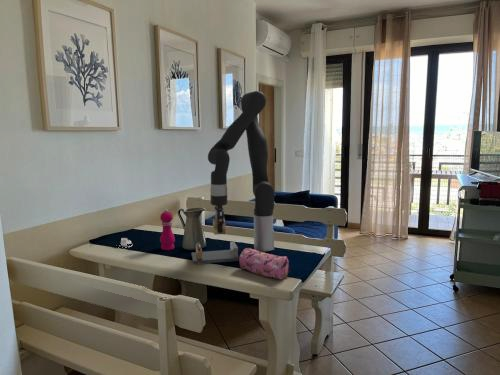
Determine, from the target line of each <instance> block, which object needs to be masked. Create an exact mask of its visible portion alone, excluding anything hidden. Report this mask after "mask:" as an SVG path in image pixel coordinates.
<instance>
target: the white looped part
mask: <svg viewBox="0 0 500 375" xmlns="http://www.w3.org/2000/svg"><path fill="white" fill-rule="evenodd" d="M120 244H121V245H120V246H122V247H125V248H124V249H126V248H127V247H128V248H130V247H132V246H133V243H132V241H131V240H130V239H128V238H127V237H121V239H120ZM127 244H128V245H129V244H132V245H131V246H130V245H129V246H128V245H127ZM120 246H119V247H120ZM119 247H118V249H120V248H119Z"/></svg>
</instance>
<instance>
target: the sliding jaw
mask: <svg viewBox="0 0 500 375" xmlns="http://www.w3.org/2000/svg"><path fill="white" fill-rule="evenodd" d="M195 252H196V254H197V258H198V259H202V252H203V250H202V246H201V244H200V242H199V241H198V242H196V244H195Z"/></svg>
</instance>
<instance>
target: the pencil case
mask: <svg viewBox="0 0 500 375" xmlns="http://www.w3.org/2000/svg"><path fill="white" fill-rule="evenodd" d="M238 257H239V261H238V262H239V267H240V268H241V269H242V270H247V271H249V272H252V273H254V274H257V275H260V276H264V277H266V278H272V277H273V279H276V280H284V279H286V278H287V277H288V274H289V273H291V266H290V265H289V263H290V262H289V259H288V256H285V255H284V256H280V255H277V254H276V255H275V254H272V253H270V254H269V253H266V252H264V251H257V250H255V249H254V248H250V247H246V248H244V249H243V250H242V251H241V253H240V255H239V256H238Z"/></svg>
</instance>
